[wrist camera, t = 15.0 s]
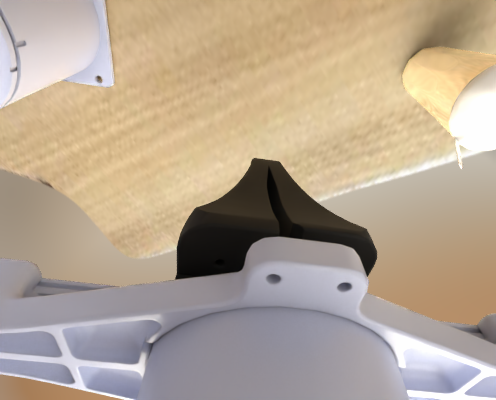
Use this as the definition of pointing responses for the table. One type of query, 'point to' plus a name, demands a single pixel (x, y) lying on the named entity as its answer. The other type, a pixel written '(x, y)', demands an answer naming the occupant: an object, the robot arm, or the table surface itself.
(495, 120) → the milkshake
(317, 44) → the table surface
